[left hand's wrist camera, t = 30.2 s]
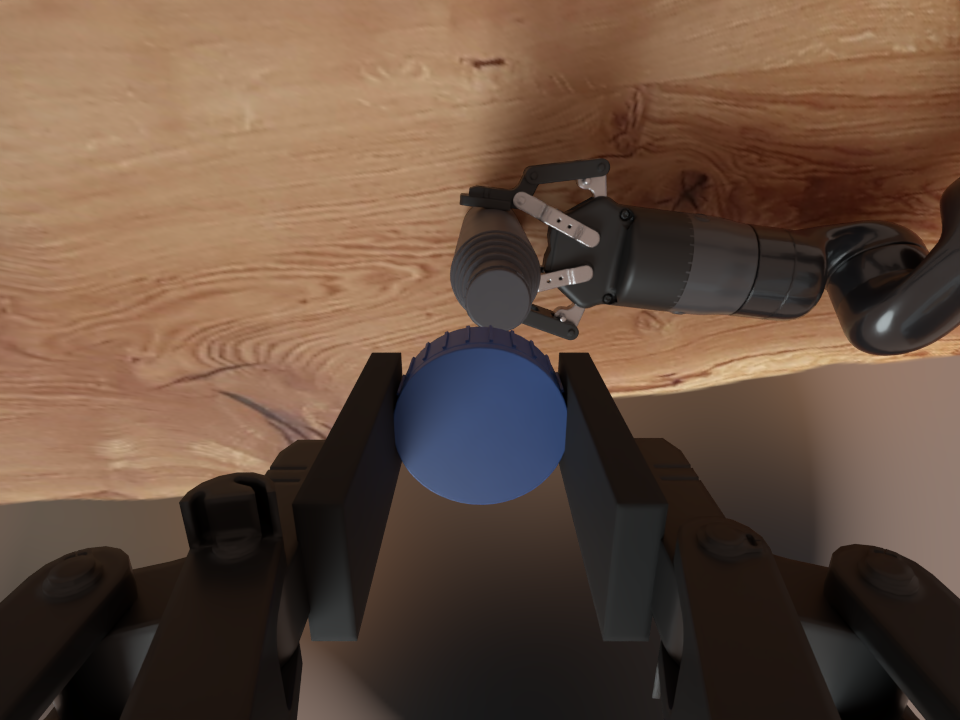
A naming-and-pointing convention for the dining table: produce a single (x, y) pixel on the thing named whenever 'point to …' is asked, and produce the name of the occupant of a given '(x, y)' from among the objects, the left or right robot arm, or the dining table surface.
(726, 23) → the dining table surface
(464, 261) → the bottle
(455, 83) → the dining table surface
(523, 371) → the cap
